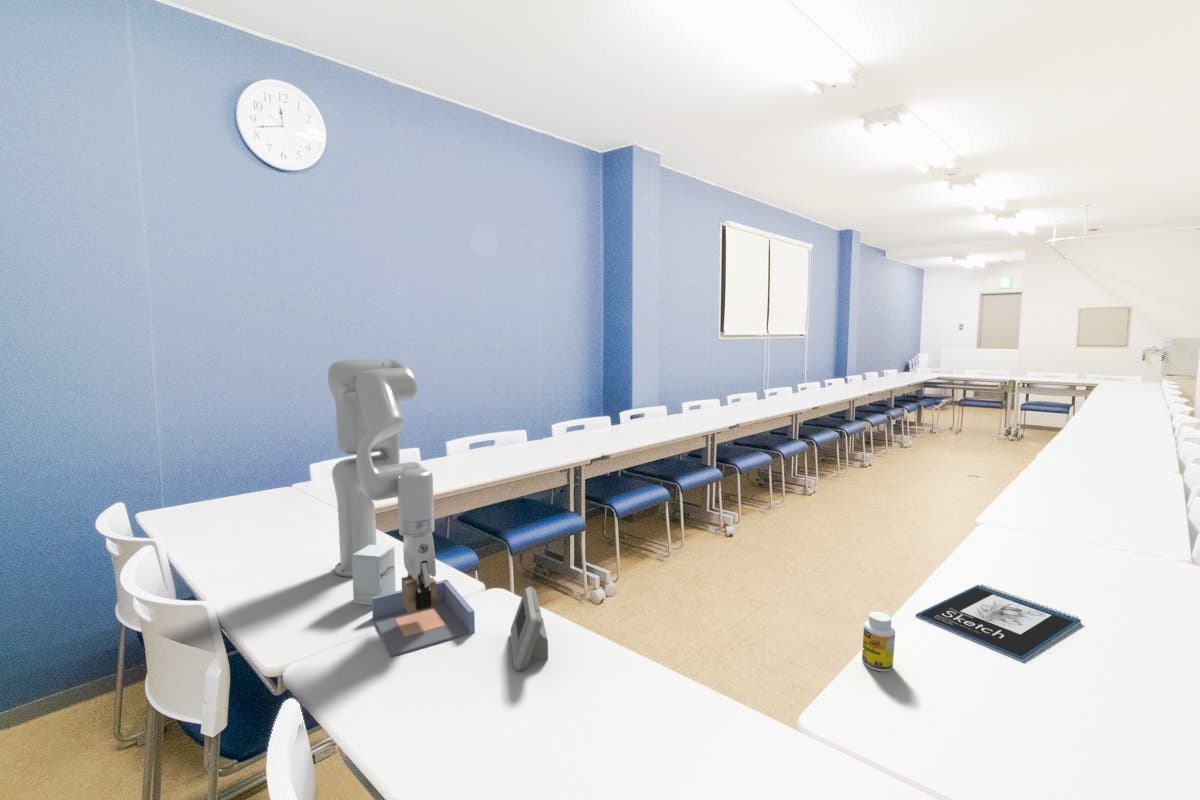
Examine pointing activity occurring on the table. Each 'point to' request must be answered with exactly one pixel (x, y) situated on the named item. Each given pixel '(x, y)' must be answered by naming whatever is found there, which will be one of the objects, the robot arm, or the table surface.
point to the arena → (422, 620)
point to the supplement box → (373, 573)
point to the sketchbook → (1000, 621)
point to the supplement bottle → (878, 642)
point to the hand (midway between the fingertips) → (419, 601)
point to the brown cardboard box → (410, 596)
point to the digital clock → (528, 632)
